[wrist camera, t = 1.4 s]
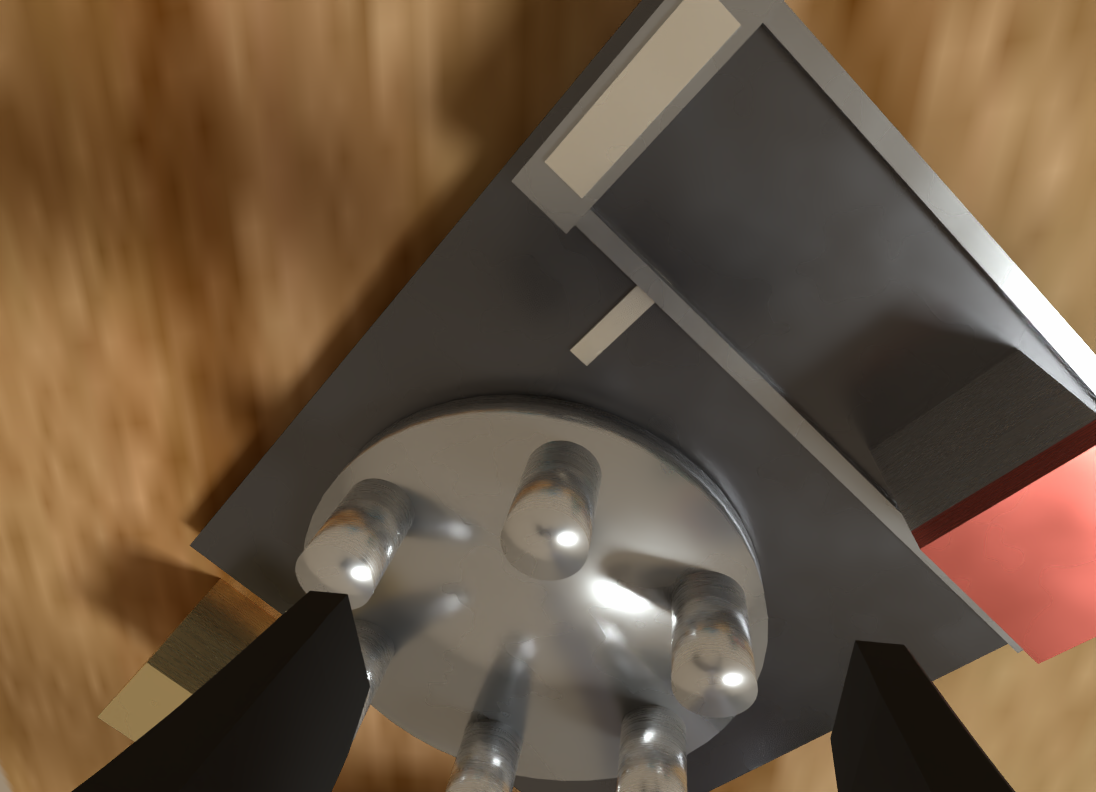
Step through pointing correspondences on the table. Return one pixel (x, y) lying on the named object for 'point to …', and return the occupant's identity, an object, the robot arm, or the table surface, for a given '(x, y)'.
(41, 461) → the table surface
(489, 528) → the pinned metal disc
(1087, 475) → the red-ended rectangular metal block
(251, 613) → the link block
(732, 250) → the base plate
